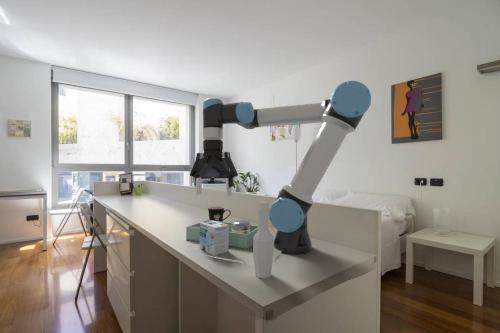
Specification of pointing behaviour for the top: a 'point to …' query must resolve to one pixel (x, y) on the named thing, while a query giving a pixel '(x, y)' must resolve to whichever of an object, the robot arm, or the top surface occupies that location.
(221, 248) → the light bulb box
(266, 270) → the low poly bottle
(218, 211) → the coffee mug
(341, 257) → the top surface
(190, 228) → the box
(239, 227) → the tin can
